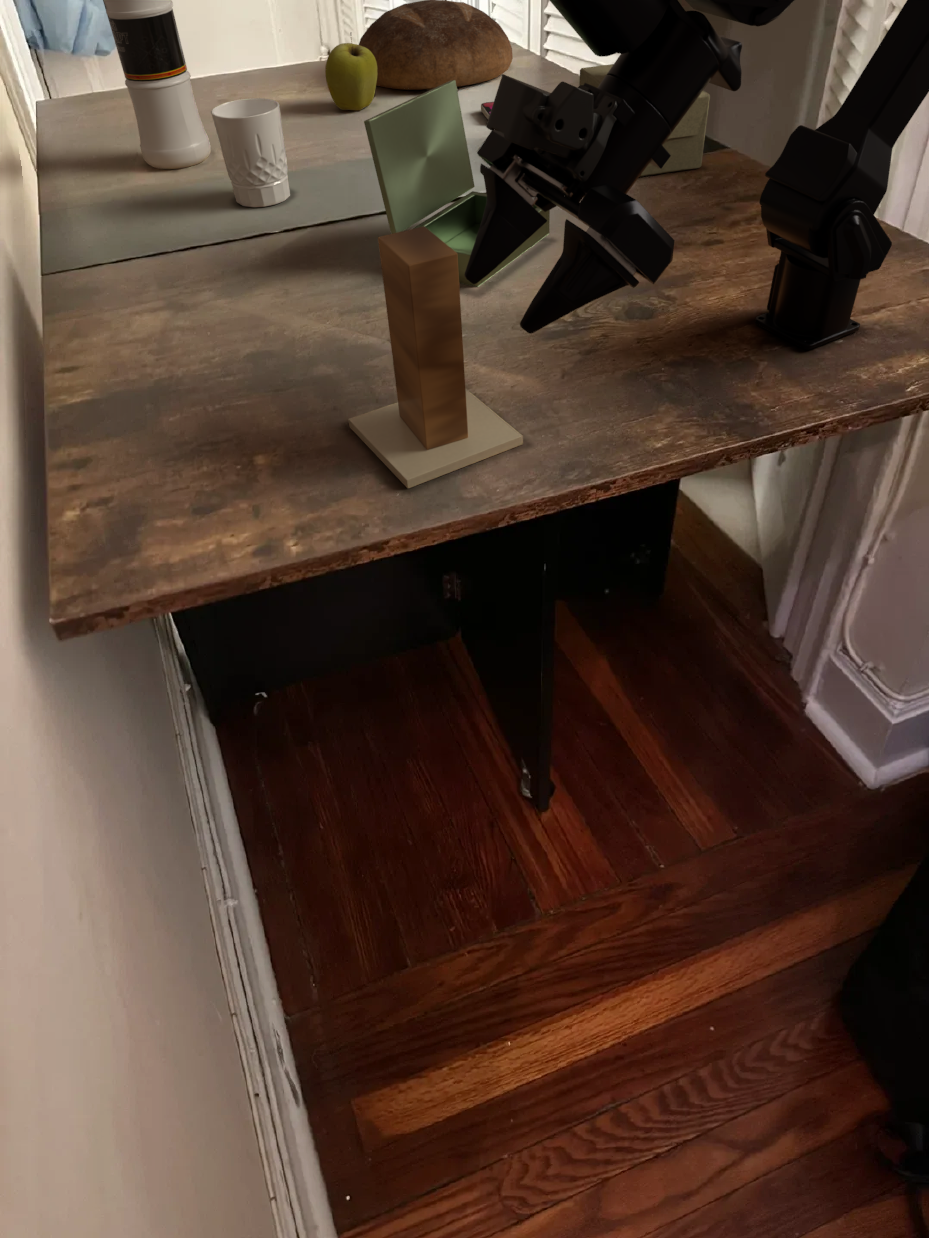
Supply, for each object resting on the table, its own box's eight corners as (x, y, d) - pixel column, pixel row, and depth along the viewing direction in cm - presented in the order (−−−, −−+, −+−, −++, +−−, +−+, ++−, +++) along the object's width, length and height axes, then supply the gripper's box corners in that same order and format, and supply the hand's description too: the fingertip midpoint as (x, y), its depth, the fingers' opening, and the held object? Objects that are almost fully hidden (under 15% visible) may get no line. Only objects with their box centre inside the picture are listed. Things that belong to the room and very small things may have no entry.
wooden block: (439, 404, 70) (424, 225, 60) (468, 437, 67) (458, 253, 57) (399, 416, 69) (377, 236, 59) (426, 450, 66) (408, 265, 56)
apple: (316, 98, 136) (325, 23, 130) (366, 108, 139) (377, 35, 133) (326, 111, 130) (336, 34, 124) (377, 122, 133) (389, 46, 127)
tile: (523, 444, 67) (523, 435, 66) (407, 489, 64) (406, 480, 63) (457, 389, 73) (457, 381, 73) (349, 427, 70) (348, 418, 69)
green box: (549, 240, 94) (549, 204, 92) (477, 294, 86) (476, 256, 83) (474, 226, 98) (472, 191, 96) (398, 277, 90) (394, 239, 87)
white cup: (218, 205, 108) (196, 114, 101) (257, 183, 112) (239, 95, 105) (270, 213, 105) (251, 120, 98) (307, 190, 110) (292, 101, 103)
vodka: (202, 170, 118) (130, -122, 96) (136, 172, 118) (49, -116, 97) (220, 147, 124) (156, -130, 103) (157, 150, 125) (80, -125, 104)
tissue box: (702, 169, 107) (722, 15, 96) (627, 180, 106) (638, 25, 95) (644, 126, 121) (655, -14, 109) (576, 135, 119) (581, -5, 108)
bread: (375, 104, 135) (366, 29, 129) (345, 65, 154) (336, -3, 147) (534, 82, 139) (534, 8, 133) (486, 47, 158) (484, -20, 151)
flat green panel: (455, 80, 89) (450, 80, 89) (369, 120, 80) (363, 121, 81) (474, 187, 95) (469, 187, 96) (396, 235, 87) (391, 235, 87)
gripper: (497, -6, 59) (366, 199, 64) (649, 46, 47) (473, 295, 52) (593, 103, 67) (470, 279, 72) (747, 174, 54) (585, 380, 59)
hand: (495, 304), depth 63 cm, fingers open, 9 cm apart
